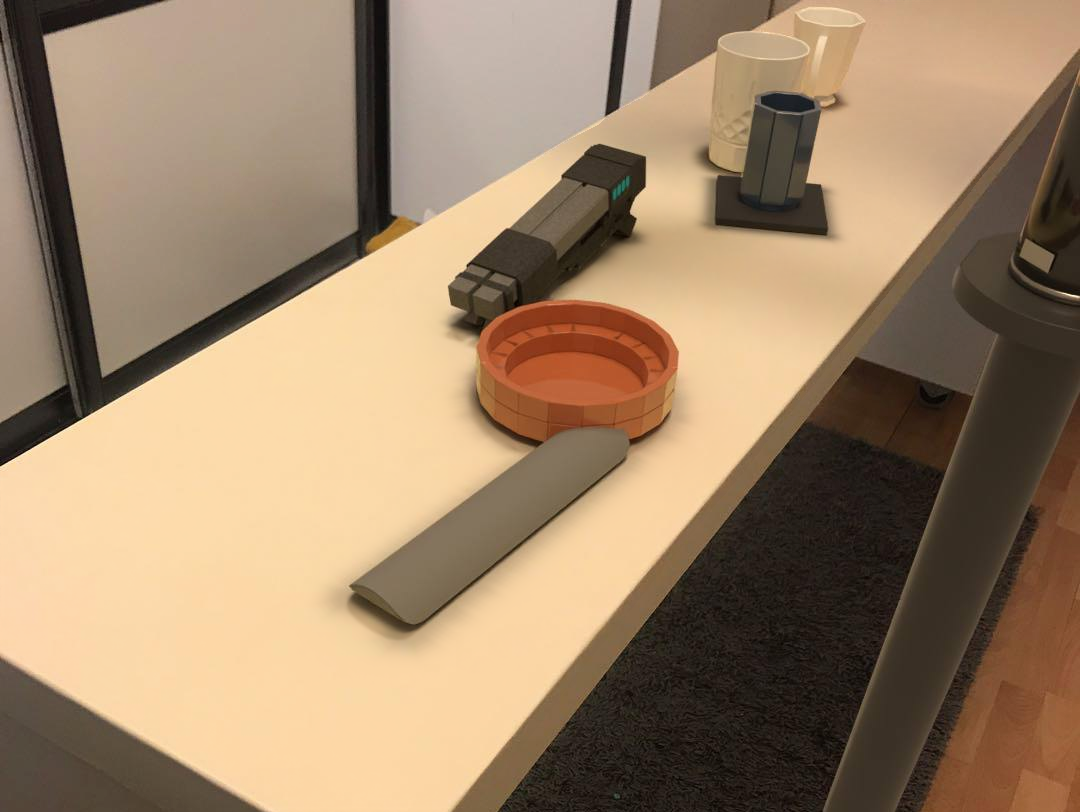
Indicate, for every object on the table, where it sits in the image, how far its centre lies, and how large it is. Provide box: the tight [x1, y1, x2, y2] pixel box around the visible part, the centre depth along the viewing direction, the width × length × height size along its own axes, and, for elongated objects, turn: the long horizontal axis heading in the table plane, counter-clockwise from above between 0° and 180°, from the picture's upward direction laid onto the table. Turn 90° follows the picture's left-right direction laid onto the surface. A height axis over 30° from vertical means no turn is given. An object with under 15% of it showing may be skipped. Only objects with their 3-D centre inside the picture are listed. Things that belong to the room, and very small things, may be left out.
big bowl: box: [475, 299, 680, 443], centre depth 66 cm, size 12×12×4 cm
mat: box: [715, 174, 829, 236], centre depth 90 cm, size 9×9×1 cm
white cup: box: [708, 30, 810, 174], centre depth 94 cm, size 8×8×10 cm
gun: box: [447, 143, 647, 329], centre depth 78 cm, size 4×20×10 cm, turn 147°
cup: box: [793, 6, 867, 107], centre depth 107 cm, size 7×10×8 cm
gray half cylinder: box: [348, 427, 631, 625], centre depth 57 cm, size 4×20×2 cm, turn 142°
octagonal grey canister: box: [740, 91, 822, 212], centre depth 87 cm, size 5×5×8 cm
